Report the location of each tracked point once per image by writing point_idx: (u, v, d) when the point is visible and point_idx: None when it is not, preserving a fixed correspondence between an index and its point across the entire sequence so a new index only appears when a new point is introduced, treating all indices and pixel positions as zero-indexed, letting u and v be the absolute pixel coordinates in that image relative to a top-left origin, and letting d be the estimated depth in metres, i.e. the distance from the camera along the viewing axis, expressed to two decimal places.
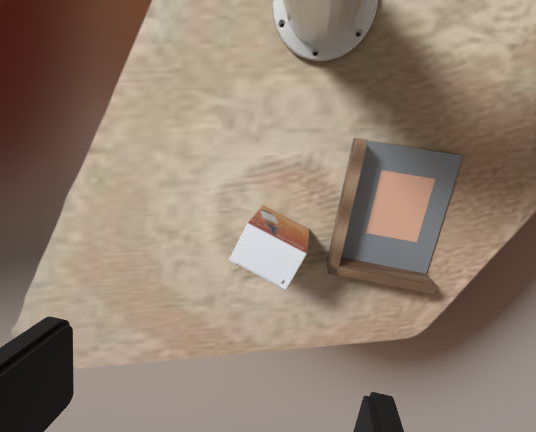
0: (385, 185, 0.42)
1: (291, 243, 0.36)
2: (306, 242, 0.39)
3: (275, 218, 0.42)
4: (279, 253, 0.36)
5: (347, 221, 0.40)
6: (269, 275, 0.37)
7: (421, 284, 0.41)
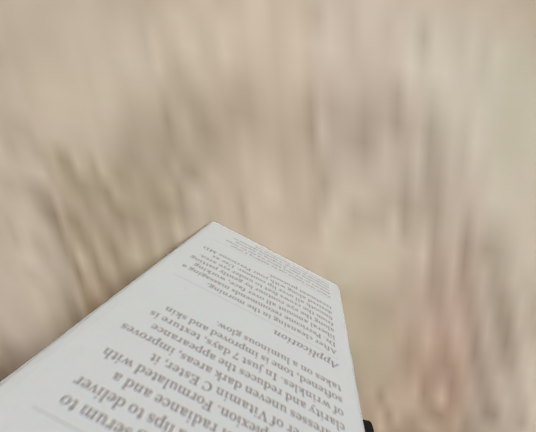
0: None
1: None
2: None
3: None
4: None
5: None
6: None
7: None
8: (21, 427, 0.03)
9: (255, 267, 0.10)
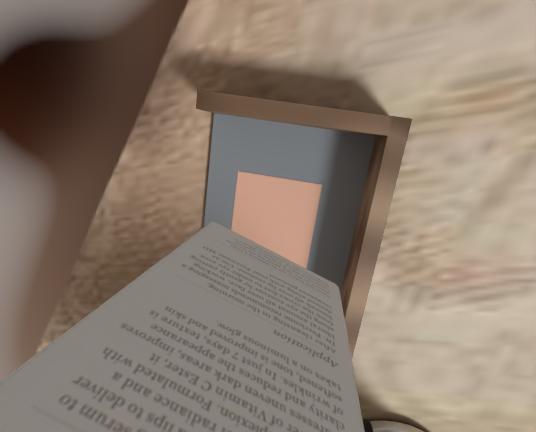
0: (296, 263, 0.27)
1: None
2: None
3: None
4: None
5: (368, 230, 0.22)
6: None
7: (224, 109, 0.21)
8: (20, 427, 0.03)
9: (255, 267, 0.10)
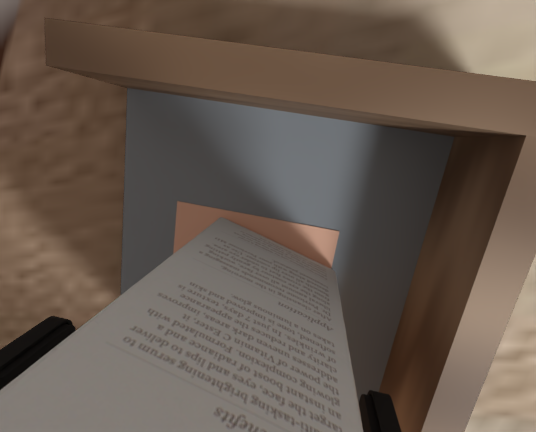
0: None
1: None
2: None
3: None
4: None
5: (455, 358, 0.09)
6: None
7: (111, 67, 0.09)
8: (101, 353, 0.05)
9: (260, 254, 0.11)
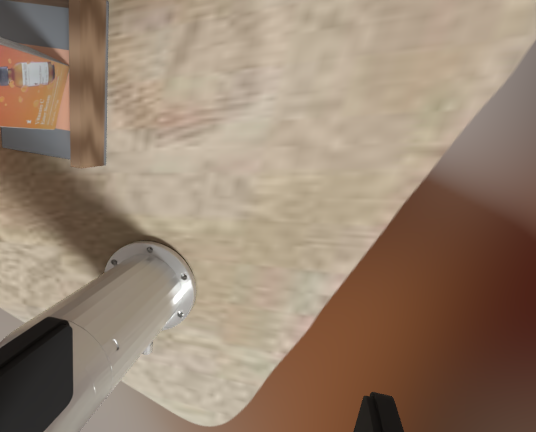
0: (62, 113, 0.38)
1: None
2: (3, 124, 0.32)
3: (40, 83, 0.33)
4: None
5: (71, 66, 0.32)
6: None
7: None
8: None
9: (29, 48, 0.34)
